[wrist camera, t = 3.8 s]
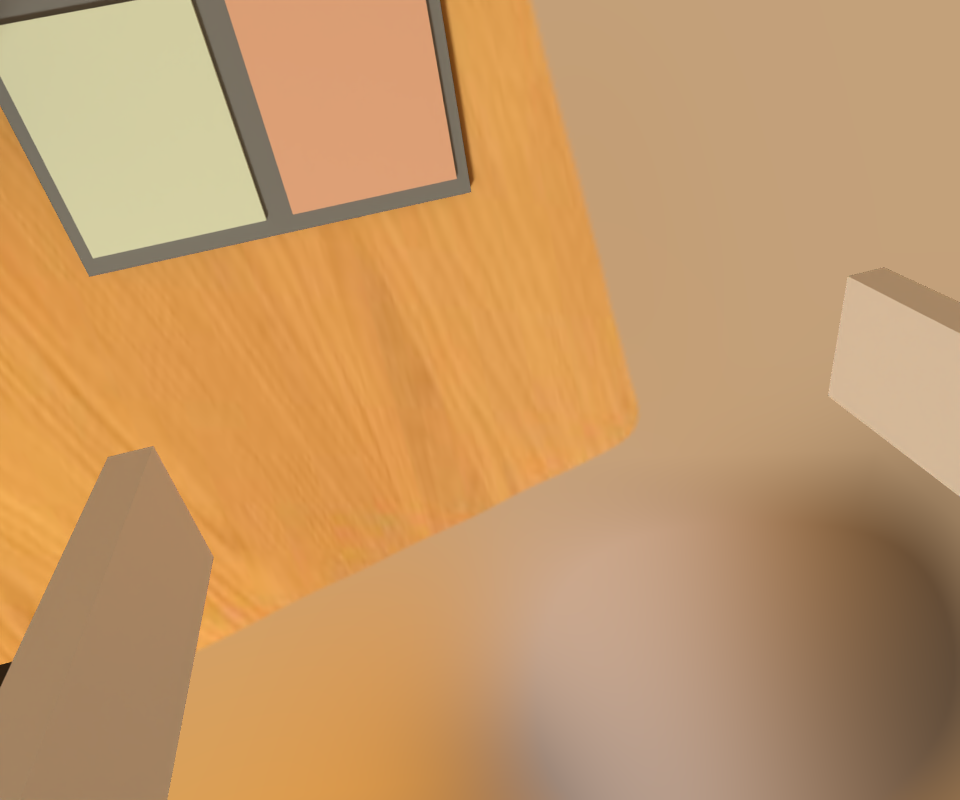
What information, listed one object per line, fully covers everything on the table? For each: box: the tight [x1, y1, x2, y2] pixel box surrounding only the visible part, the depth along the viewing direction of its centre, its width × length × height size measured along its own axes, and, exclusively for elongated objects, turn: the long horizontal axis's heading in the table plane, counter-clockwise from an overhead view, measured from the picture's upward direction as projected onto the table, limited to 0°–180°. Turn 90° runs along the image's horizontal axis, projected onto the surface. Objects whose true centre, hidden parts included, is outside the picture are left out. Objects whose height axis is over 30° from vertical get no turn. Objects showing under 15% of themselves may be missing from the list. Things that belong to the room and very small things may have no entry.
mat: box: [0, 0, 471, 277], centre depth 34 cm, size 13×22×1 cm, turn 99°
